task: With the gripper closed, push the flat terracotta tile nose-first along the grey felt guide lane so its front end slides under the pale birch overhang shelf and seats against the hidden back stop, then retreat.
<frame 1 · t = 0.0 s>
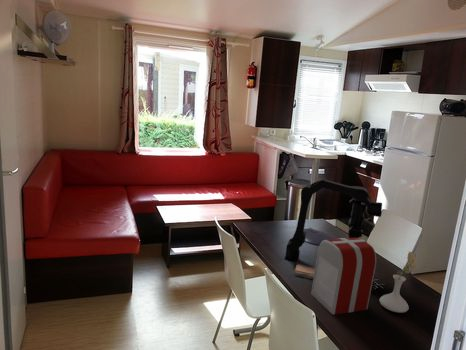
hand: (352, 243, 181), 15 cm above the table, fingers open, 9 cm apart
toy spaceship: (315, 238, 226), on the table
terracotta tile: (307, 274, 178), on the table
flower in vase: (394, 307, 155), on the table
birch dock: (333, 279, 174), on the table
striped gift box: (338, 301, 156), on the table
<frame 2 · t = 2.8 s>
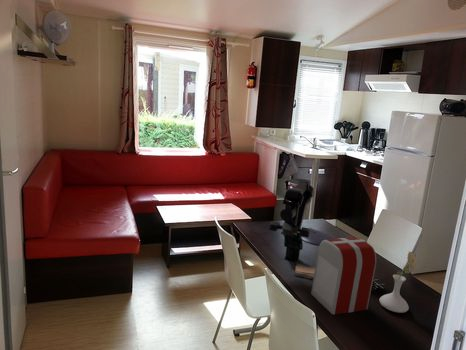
hand: (287, 245, 178), 12 cm above the table, fingers closed
nothing on the table moved.
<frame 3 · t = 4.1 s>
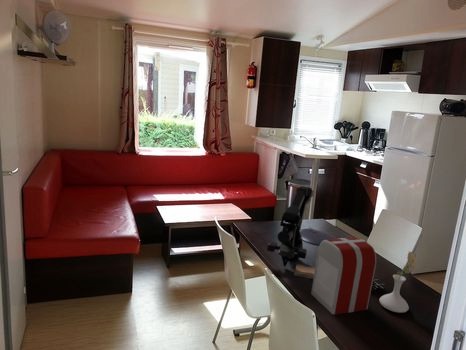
hand: (284, 266, 180), 1 cm above the table, fingers closed
nothing on the table moved.
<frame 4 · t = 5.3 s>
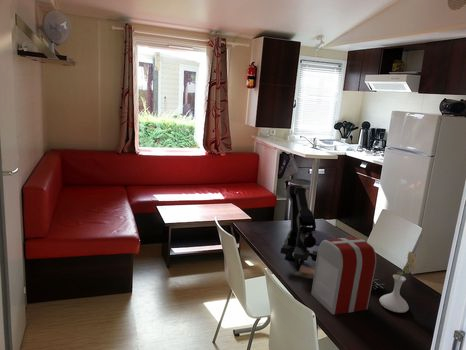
hand: (298, 269, 179), 1 cm above the table, fingers closed
terracotta tile: (311, 275, 177), on the table
everything else where it was.
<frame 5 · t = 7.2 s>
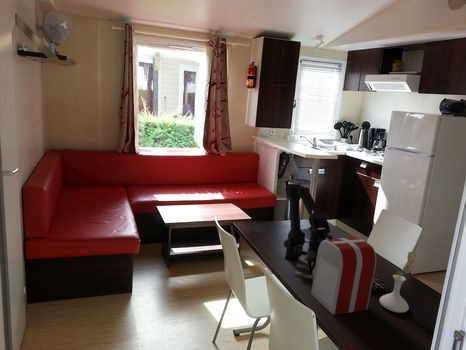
hand: (310, 272, 177), 1 cm above the table, fingers closed
terracotta tile: (324, 278, 176), on the table
everything else where it was.
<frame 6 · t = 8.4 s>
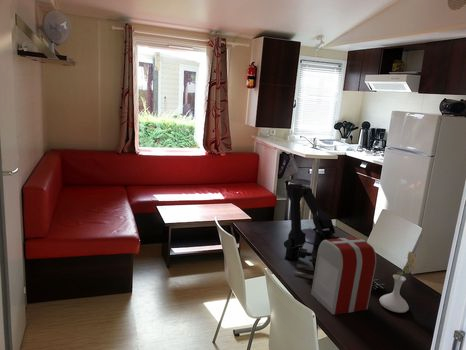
hand: (315, 273, 176), 1 cm above the table, fingers closed
terracotta tile: (328, 279, 175), on the table
everything else where it was.
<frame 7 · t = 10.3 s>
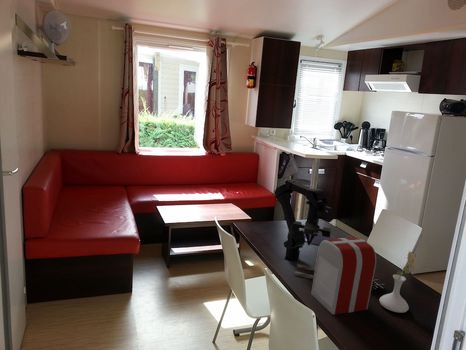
hand: (308, 245, 181), 12 cm above the table, fingers closed
nothing on the table moved.
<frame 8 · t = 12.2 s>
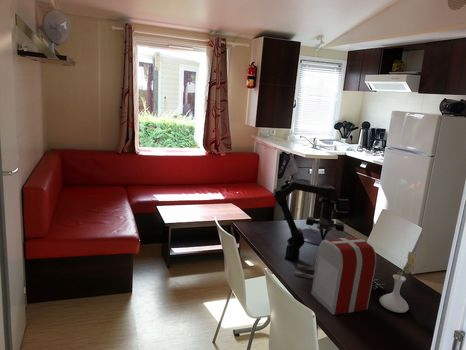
hand: (322, 239, 190), 12 cm above the table, fingers closed
nothing on the table moved.
at the end: terracotta tile 0.2 cm from the target spot, on the table; terracotta tile tilted 0°; the gripper is holding nothing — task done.
